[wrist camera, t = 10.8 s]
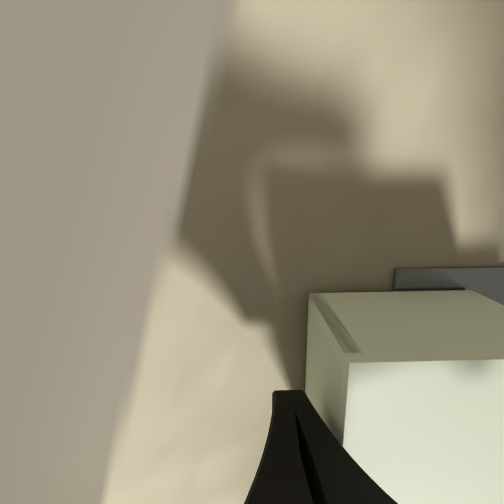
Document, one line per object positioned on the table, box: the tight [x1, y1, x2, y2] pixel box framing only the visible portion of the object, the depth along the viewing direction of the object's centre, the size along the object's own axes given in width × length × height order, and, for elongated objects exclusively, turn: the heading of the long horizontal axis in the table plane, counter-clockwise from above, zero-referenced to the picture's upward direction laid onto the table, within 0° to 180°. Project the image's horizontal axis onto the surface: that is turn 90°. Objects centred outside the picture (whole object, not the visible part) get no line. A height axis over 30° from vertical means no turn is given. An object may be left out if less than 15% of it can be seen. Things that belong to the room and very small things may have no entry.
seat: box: [392, 267, 504, 305], centre depth 14 cm, size 10×10×3 cm
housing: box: [305, 290, 504, 504], centre depth 12 cm, size 8×8×6 cm
